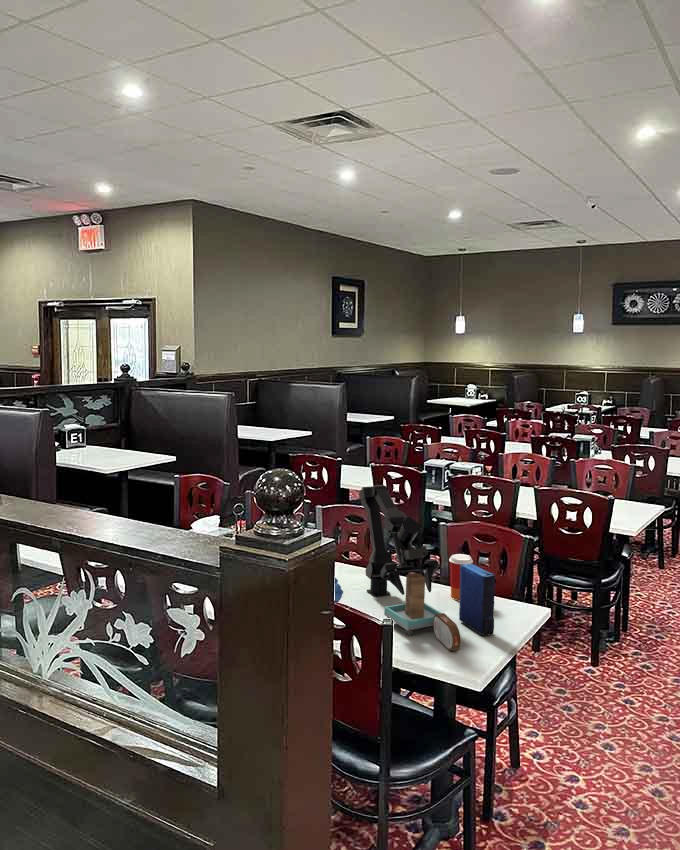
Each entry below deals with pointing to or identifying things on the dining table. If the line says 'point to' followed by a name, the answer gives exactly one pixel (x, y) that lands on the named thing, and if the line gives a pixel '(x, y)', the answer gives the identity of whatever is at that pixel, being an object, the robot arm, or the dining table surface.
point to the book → (477, 598)
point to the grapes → (338, 591)
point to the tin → (447, 632)
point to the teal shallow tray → (407, 623)
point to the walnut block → (415, 596)
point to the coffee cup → (457, 572)
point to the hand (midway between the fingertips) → (416, 593)
